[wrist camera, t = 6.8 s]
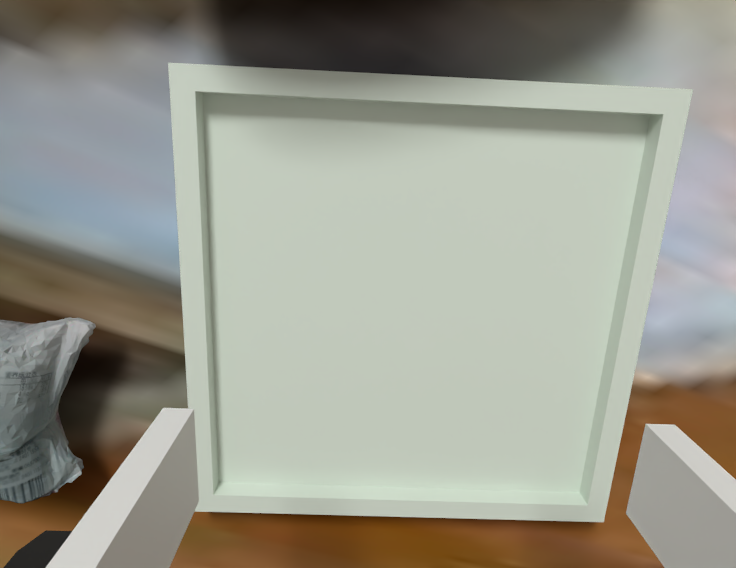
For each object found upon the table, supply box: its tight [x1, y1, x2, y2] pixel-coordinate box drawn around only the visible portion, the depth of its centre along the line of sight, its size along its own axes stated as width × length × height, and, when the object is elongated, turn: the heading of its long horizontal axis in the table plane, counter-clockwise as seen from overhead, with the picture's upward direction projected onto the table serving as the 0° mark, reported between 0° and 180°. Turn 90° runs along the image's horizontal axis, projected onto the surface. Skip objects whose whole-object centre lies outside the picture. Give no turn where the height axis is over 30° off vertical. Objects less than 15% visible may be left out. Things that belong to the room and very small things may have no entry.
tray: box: [168, 63, 693, 522], centre depth 24 cm, size 21×21×2 cm
